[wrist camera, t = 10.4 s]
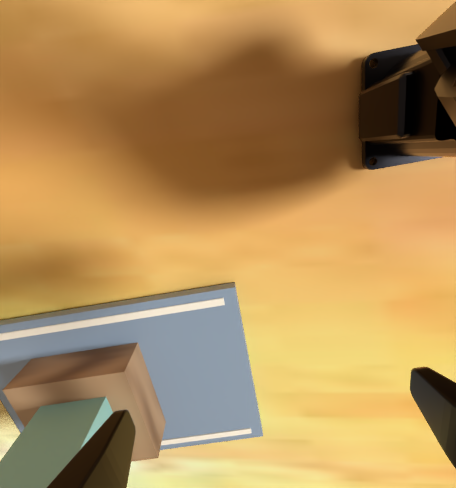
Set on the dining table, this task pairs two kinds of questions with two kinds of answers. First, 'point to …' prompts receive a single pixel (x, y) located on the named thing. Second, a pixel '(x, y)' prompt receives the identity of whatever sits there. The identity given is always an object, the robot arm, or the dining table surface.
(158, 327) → the board
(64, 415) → the teal block
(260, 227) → the dining table surface
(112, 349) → the plinth
